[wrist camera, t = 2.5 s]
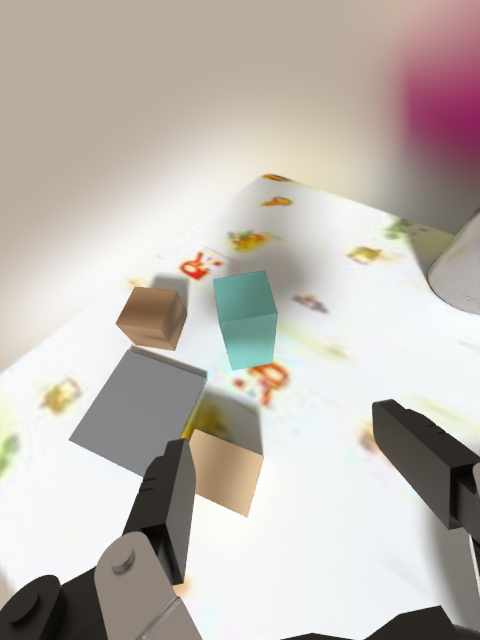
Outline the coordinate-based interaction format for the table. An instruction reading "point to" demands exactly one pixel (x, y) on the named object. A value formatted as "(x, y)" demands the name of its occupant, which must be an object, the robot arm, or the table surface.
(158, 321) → the walnut cube
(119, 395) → the coaster
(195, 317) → the table surface
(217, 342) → the table surface
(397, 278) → the table surface
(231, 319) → the teal block
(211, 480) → the oak block
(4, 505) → the table surface
